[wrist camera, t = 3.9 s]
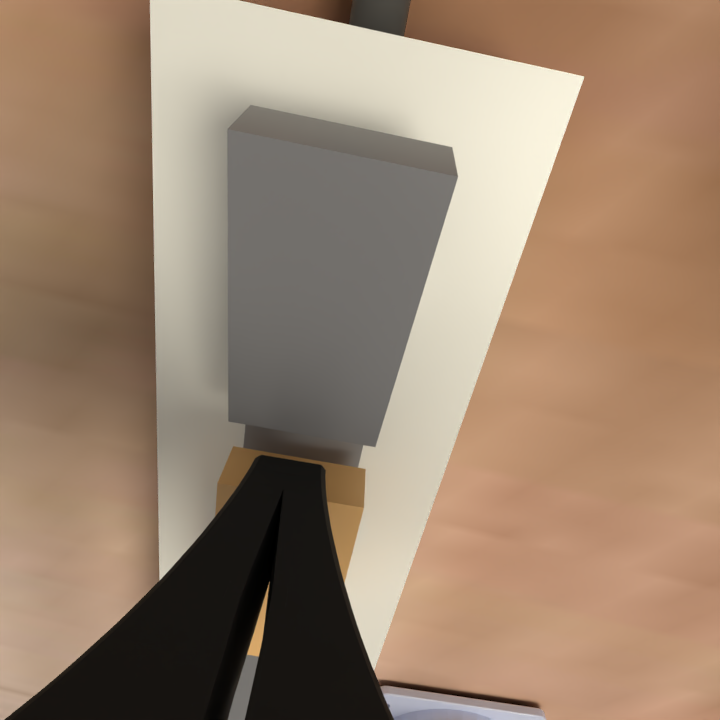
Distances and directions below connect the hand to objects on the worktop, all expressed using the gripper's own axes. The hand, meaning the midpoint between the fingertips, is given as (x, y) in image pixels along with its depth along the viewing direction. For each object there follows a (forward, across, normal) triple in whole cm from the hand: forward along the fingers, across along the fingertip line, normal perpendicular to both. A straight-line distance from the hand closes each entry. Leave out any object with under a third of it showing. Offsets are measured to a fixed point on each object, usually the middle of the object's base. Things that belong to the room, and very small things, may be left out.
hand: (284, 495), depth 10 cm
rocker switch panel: (+5, 0, 0) cm, 5 cm away
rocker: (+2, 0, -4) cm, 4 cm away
